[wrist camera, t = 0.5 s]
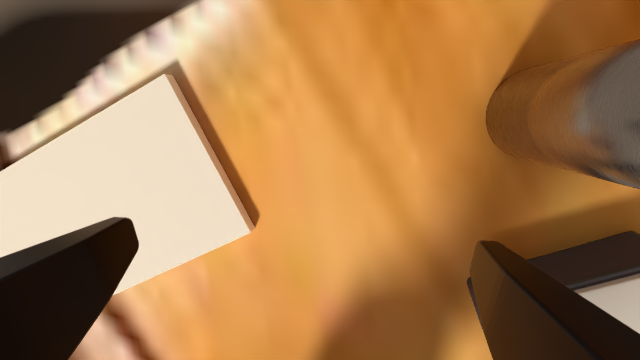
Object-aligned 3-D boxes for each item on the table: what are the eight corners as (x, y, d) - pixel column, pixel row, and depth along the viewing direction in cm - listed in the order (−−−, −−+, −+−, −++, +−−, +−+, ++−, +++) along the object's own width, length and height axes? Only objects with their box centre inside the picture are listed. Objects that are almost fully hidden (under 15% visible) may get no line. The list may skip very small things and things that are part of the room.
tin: (582, 150, 20) (963, 211, 7) (489, 164, 21) (693, 240, 8) (579, 59, 19) (1012, -48, 7) (482, 77, 20) (701, 11, 7)
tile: (173, 75, 22) (164, 73, 21) (255, 227, 24) (250, 232, 23) (-29, 194, 26) (-45, 198, 25) (53, 319, 27) (42, 327, 26)
